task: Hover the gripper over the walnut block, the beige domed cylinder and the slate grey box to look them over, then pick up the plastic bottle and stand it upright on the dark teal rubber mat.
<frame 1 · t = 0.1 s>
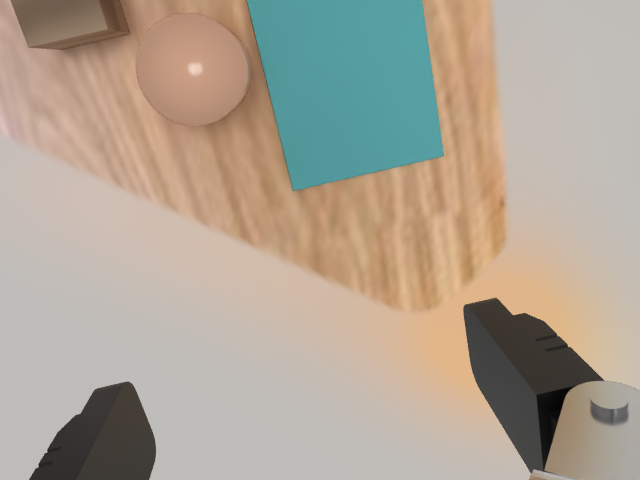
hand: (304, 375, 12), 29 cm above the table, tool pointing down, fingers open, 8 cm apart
teal mat: (350, 81, 38), on the table
beige domed cylinder: (207, 70, 37), on the table
walnut block: (83, 3, 36), on the table
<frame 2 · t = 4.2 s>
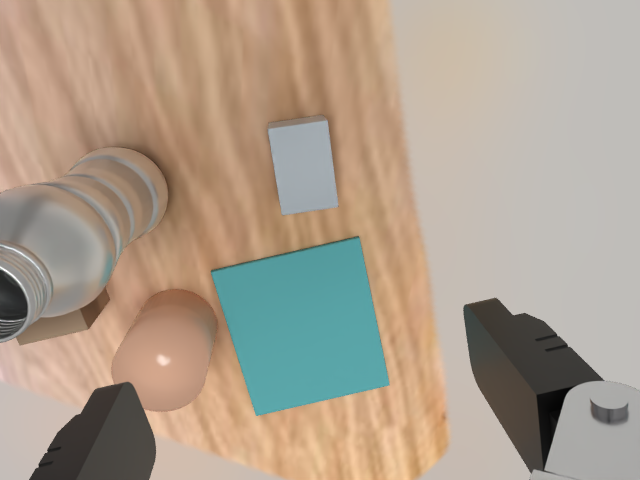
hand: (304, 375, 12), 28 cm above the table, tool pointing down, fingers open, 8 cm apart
teal mat: (304, 329, 43), on the table
slate grey box: (301, 158, 39), on the table
beige domed cylinder: (178, 324, 43), on the table
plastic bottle: (129, 185, 39), on the table
walnut block: (68, 278, 41), on the table
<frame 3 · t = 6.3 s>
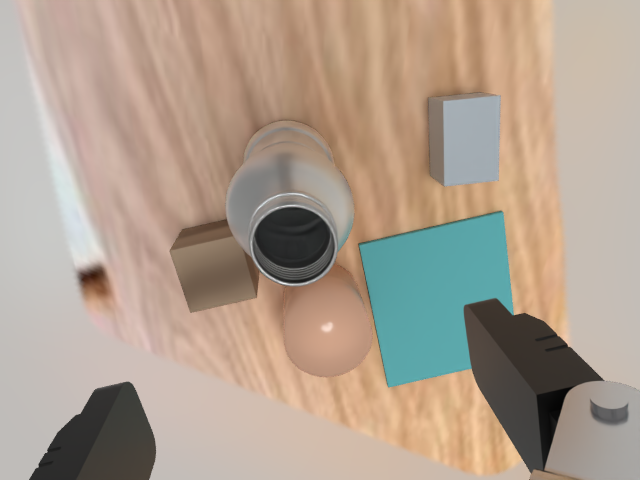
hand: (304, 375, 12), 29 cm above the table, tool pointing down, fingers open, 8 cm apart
teal mat: (441, 302, 45), on the table
slate grey box: (453, 134, 40), on the table
beige domed cylinder: (321, 297, 44), on the table
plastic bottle: (288, 159, 40), on the table
walnut block: (221, 251, 42), on the table
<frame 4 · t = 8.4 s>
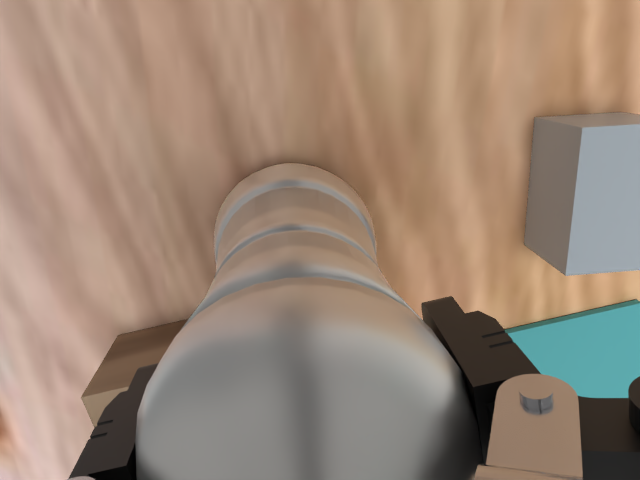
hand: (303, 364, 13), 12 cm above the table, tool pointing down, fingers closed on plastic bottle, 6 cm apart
teal mat: (531, 435, 29), on the table
slate grey box: (569, 180, 24), on the table
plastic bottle: (293, 222, 24), on the table, touching gripper
walnut block: (184, 366, 26), on the table
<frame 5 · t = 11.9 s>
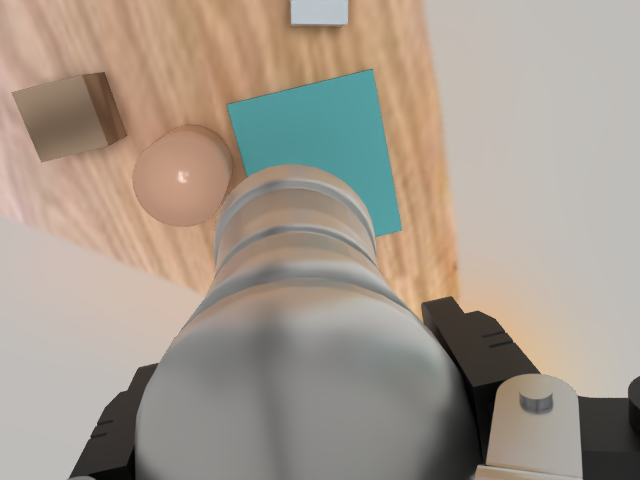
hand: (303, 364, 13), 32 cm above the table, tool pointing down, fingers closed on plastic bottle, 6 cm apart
teal mat: (318, 170, 44), on the table
beige domed cylinder: (194, 163, 43), on the table
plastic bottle: (293, 223, 24), point 21 cm above the table, touching gripper
walnut block: (85, 111, 41), on the table
when the fingers open (13 cm above the table, at t = 15.5 s): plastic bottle drops 1 cm, resting on teal mat.
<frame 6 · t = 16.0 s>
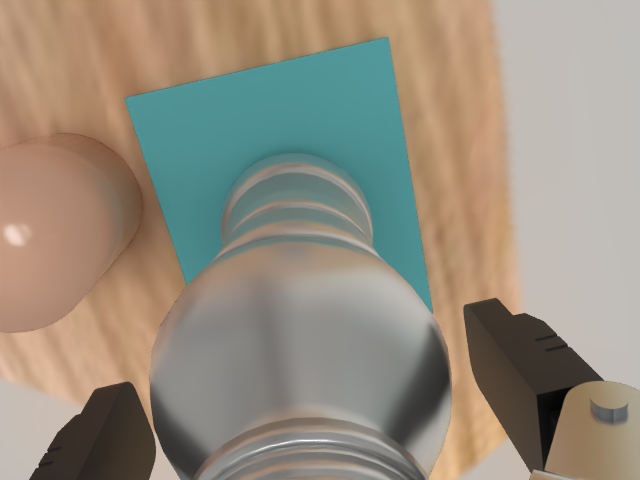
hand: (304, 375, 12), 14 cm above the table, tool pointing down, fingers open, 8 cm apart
teal mat: (292, 213, 26), on the table
beige domed cylinder: (73, 201, 25), on the table
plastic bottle: (296, 210, 25), resting on teal mat
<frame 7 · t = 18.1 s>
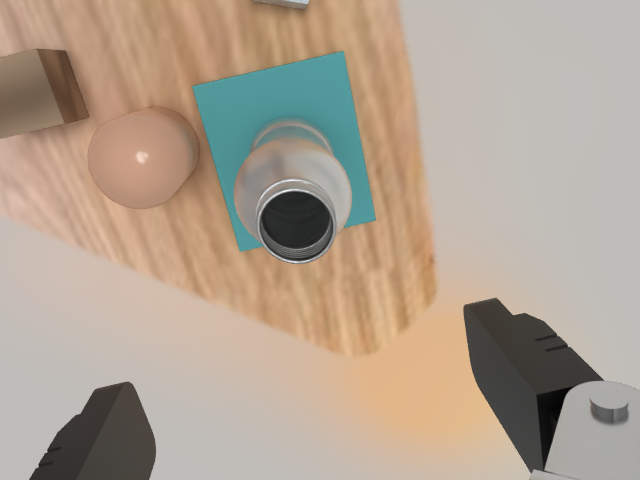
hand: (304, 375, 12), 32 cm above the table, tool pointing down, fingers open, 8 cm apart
teal mat: (288, 156, 43), on the table
beige domed cylinder: (159, 147, 42), on the table
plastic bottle: (290, 154, 42), resting on teal mat
walnut block: (46, 91, 40), on the table
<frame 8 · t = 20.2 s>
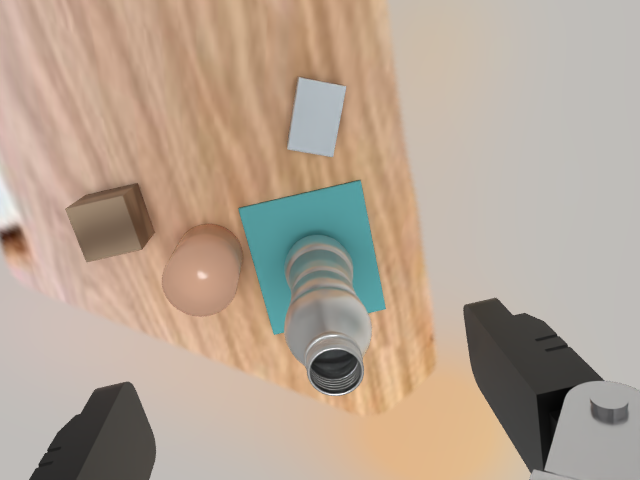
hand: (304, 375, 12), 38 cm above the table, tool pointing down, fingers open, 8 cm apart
teal mat: (315, 259, 52), on the table
slate grey box: (313, 114, 48), on the table
beige domed cylinder: (210, 254, 51), on the table
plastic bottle: (316, 258, 52), resting on teal mat
walnut block: (121, 213, 49), on the table
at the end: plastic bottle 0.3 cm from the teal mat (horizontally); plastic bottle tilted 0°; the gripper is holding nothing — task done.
